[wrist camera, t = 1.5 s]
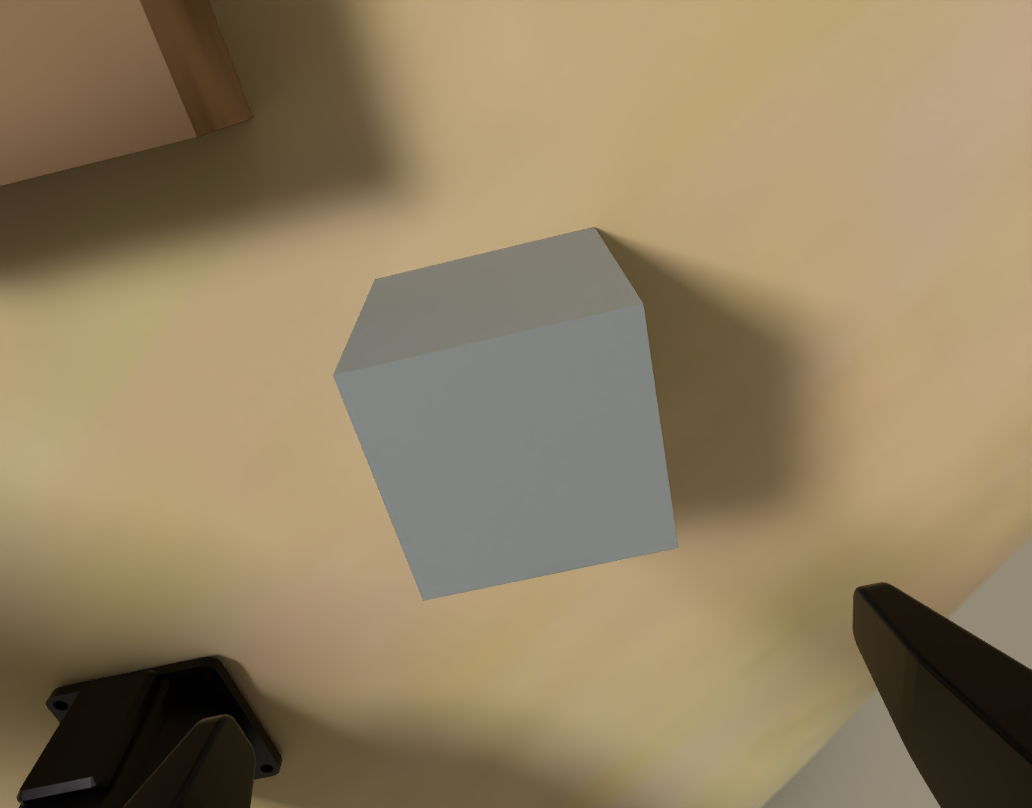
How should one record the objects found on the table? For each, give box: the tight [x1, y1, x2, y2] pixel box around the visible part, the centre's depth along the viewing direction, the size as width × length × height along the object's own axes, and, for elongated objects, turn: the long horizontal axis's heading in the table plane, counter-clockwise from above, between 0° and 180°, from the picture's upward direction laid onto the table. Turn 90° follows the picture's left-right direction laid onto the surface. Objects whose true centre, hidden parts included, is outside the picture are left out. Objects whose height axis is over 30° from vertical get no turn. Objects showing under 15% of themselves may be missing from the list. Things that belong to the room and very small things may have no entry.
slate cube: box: [333, 227, 678, 601], centre depth 17 cm, size 6×6×6 cm
